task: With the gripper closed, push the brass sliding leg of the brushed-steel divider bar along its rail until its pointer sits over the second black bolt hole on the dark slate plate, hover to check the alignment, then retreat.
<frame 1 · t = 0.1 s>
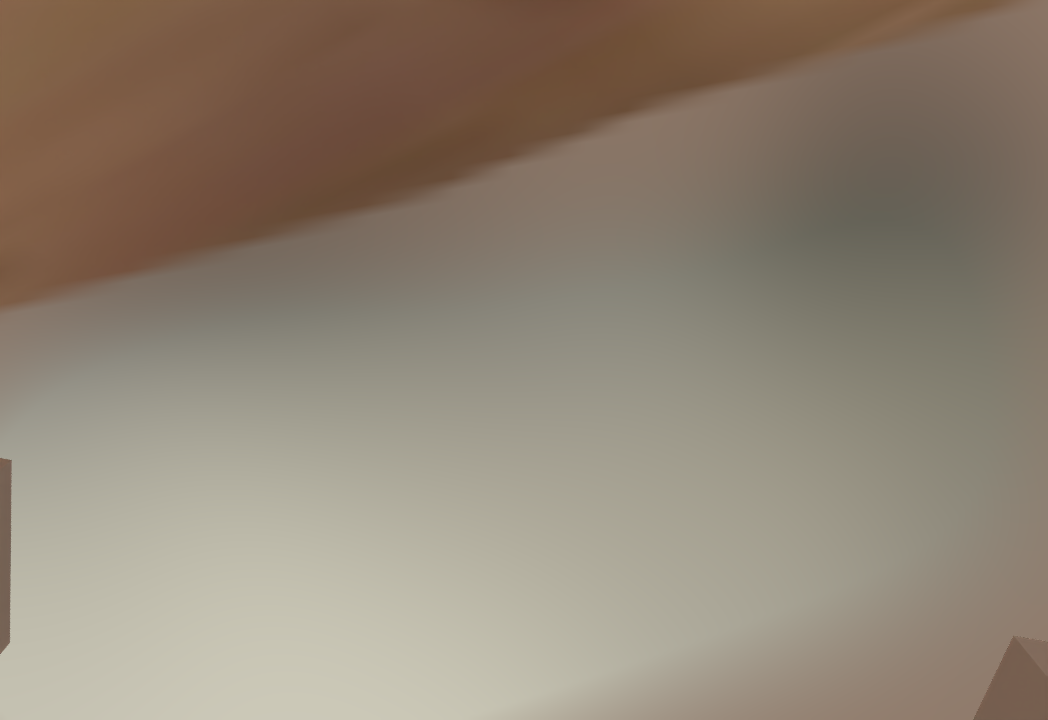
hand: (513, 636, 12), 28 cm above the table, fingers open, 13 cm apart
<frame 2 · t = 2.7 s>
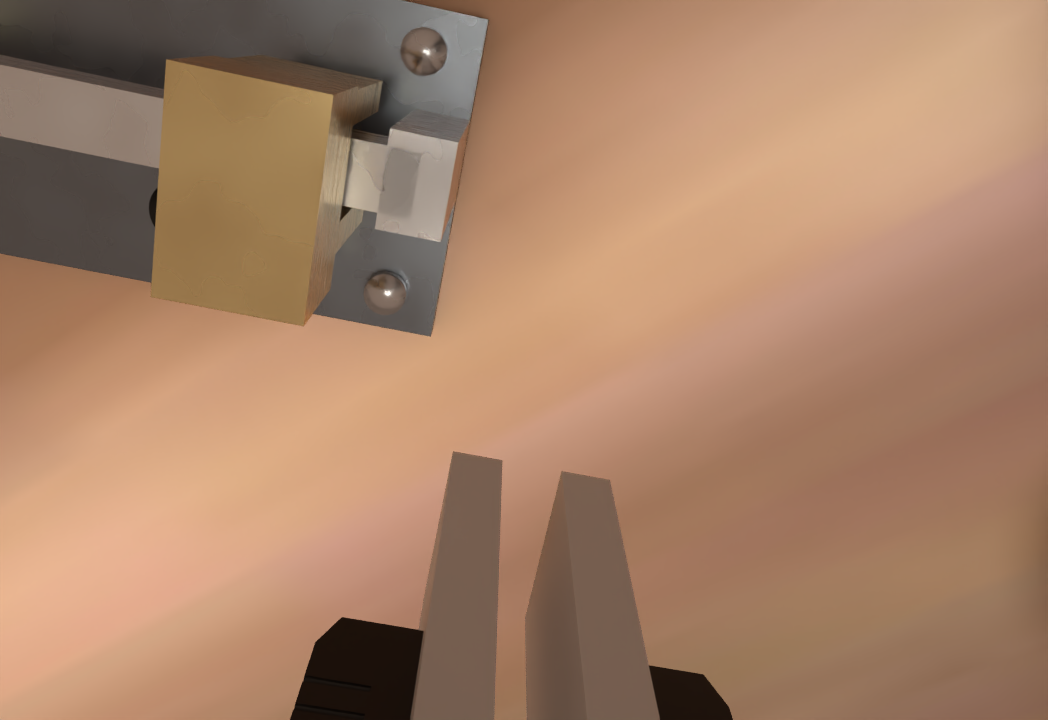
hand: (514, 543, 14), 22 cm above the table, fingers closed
hole plate: (61, 100, 33), on the table
sliding leg: (286, 190, 27), point 7 cm above the table, slide at 5.0 cm
dividers bar: (62, 73, 33), resting on hole plate
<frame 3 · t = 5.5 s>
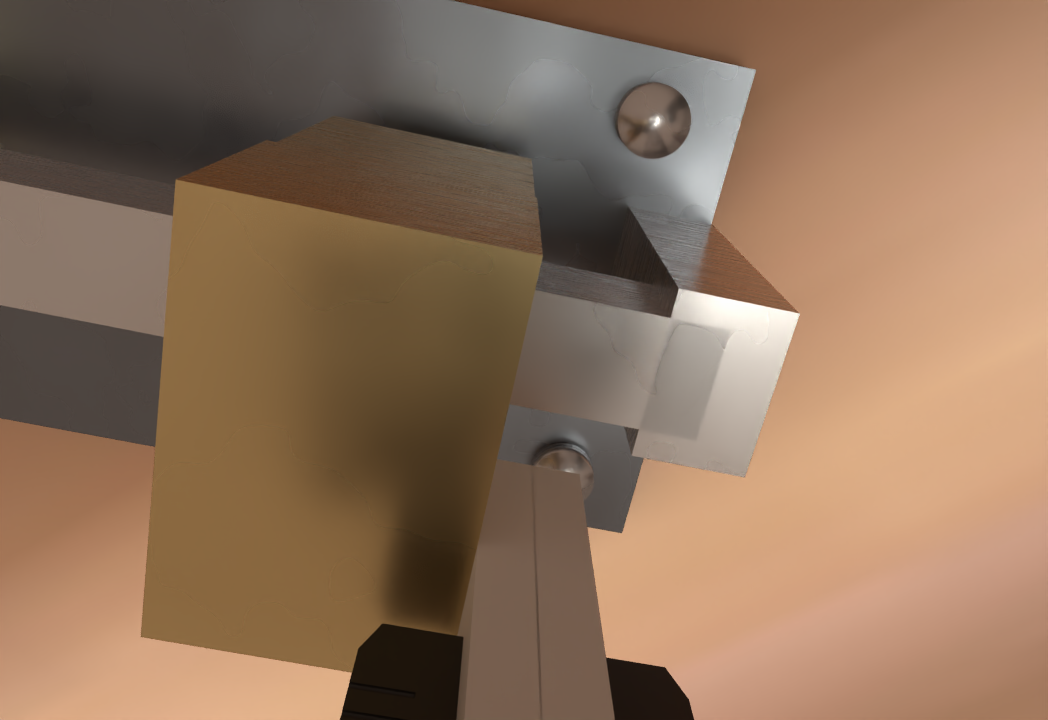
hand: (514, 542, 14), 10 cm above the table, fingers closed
hole plate: (75, 187, 21), on the table
sliding leg: (381, 359, 16), point 7 cm above the table, slide at 3.5 cm, touching gripper
dividers bar: (76, 146, 21), resting on hole plate
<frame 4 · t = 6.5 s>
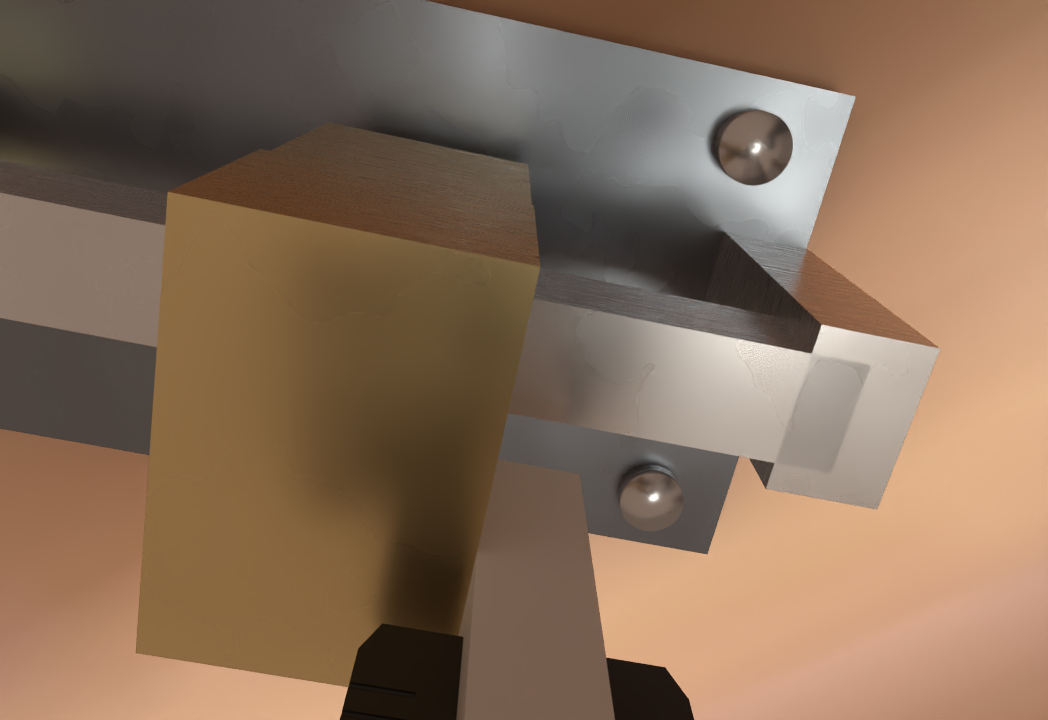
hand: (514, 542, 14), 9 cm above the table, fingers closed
hole plate: (169, 215, 21), on the table
sliding leg: (377, 367, 16), point 7 cm above the table, slide at 1.1 cm, touching gripper
dividers bar: (171, 174, 21), resting on hole plate
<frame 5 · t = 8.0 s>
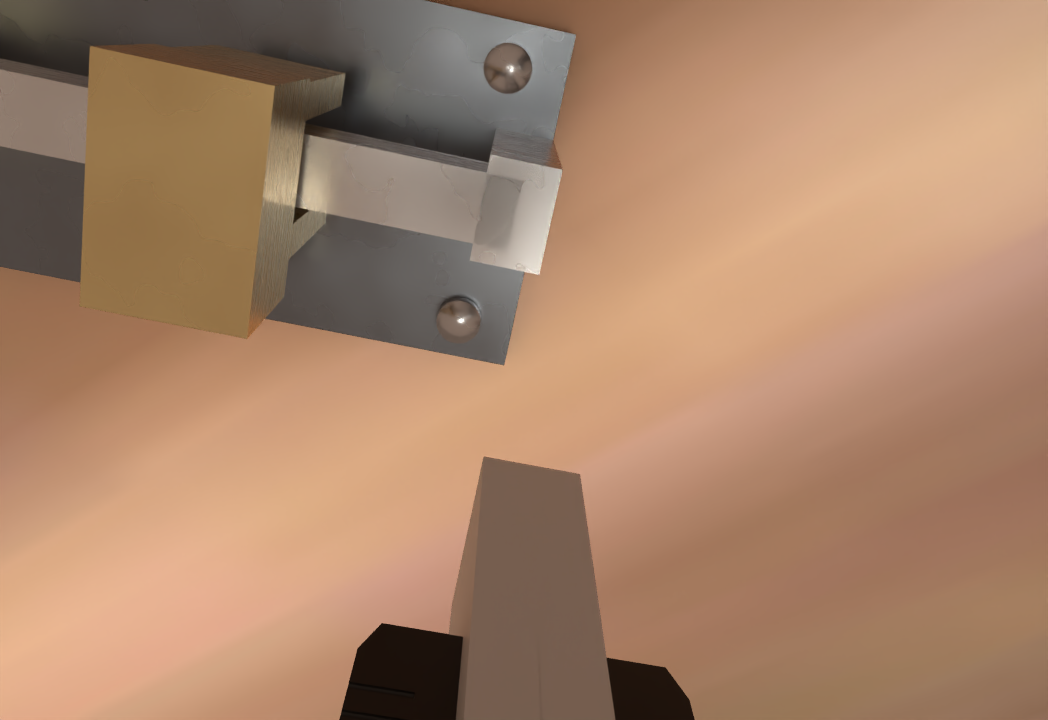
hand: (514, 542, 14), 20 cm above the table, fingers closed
hole plate: (121, 117, 31), on the table
sliding leg: (238, 190, 25), point 7 cm above the table, slide at 1.1 cm
dividers bar: (123, 89, 31), resting on hole plate
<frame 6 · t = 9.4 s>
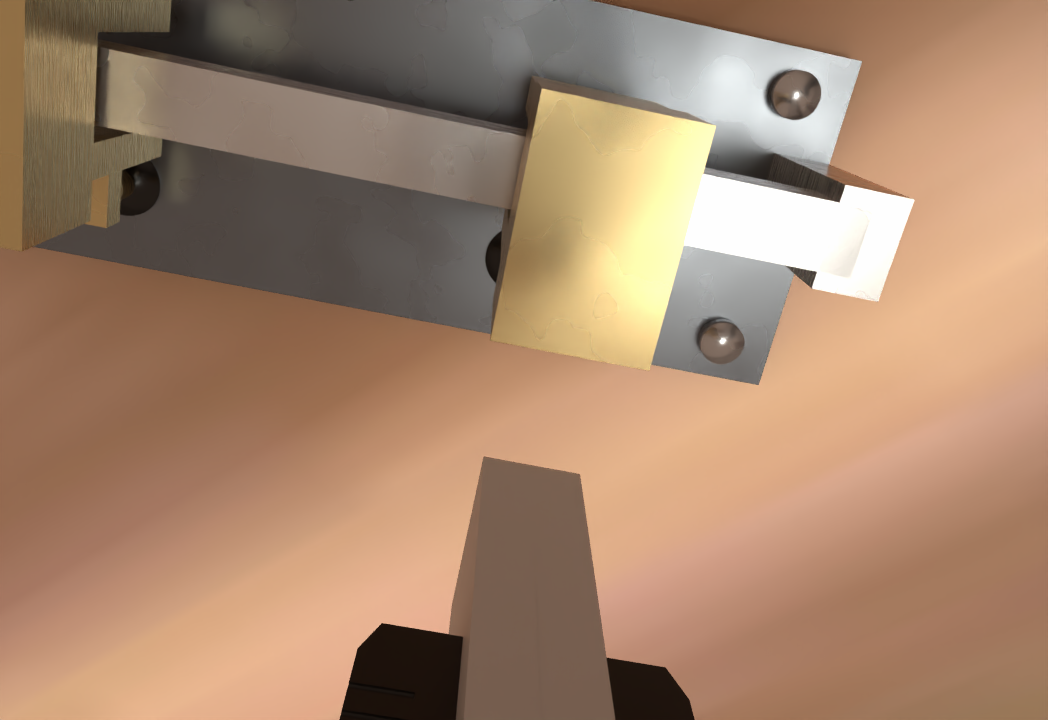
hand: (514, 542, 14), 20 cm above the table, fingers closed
hole plate: (397, 144, 32), on the table
sliding leg: (576, 220, 26), point 7 cm above the table, slide at 1.1 cm
dividers bar: (402, 116, 31), resting on hole plate
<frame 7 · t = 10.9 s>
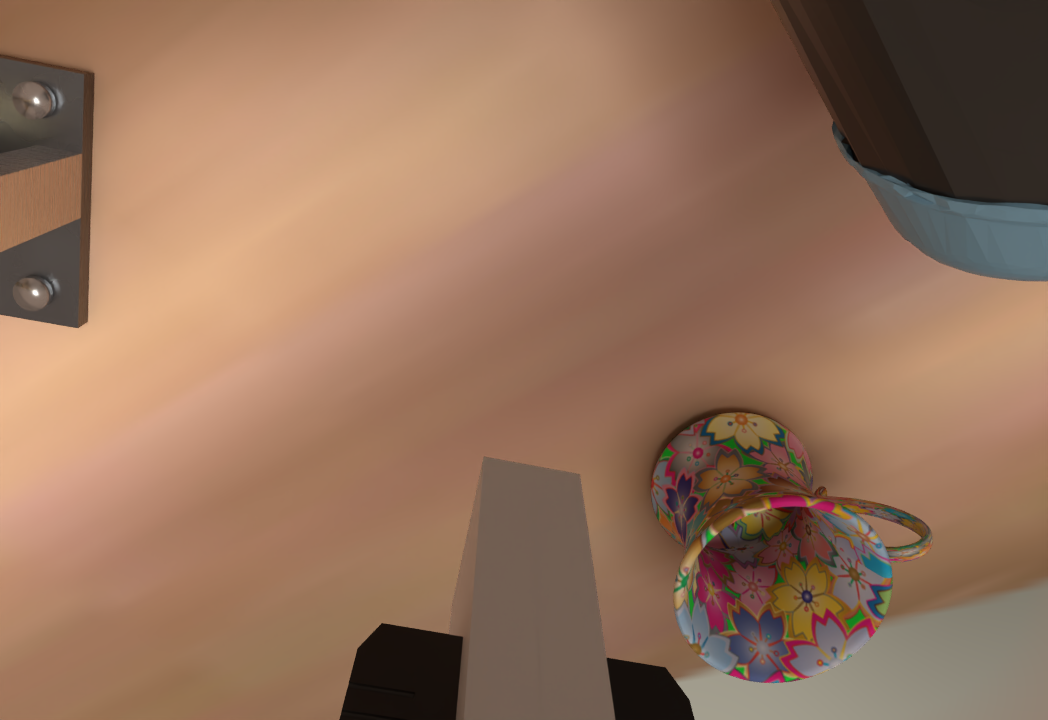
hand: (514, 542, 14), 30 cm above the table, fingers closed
mug: (751, 471, 48), on the table
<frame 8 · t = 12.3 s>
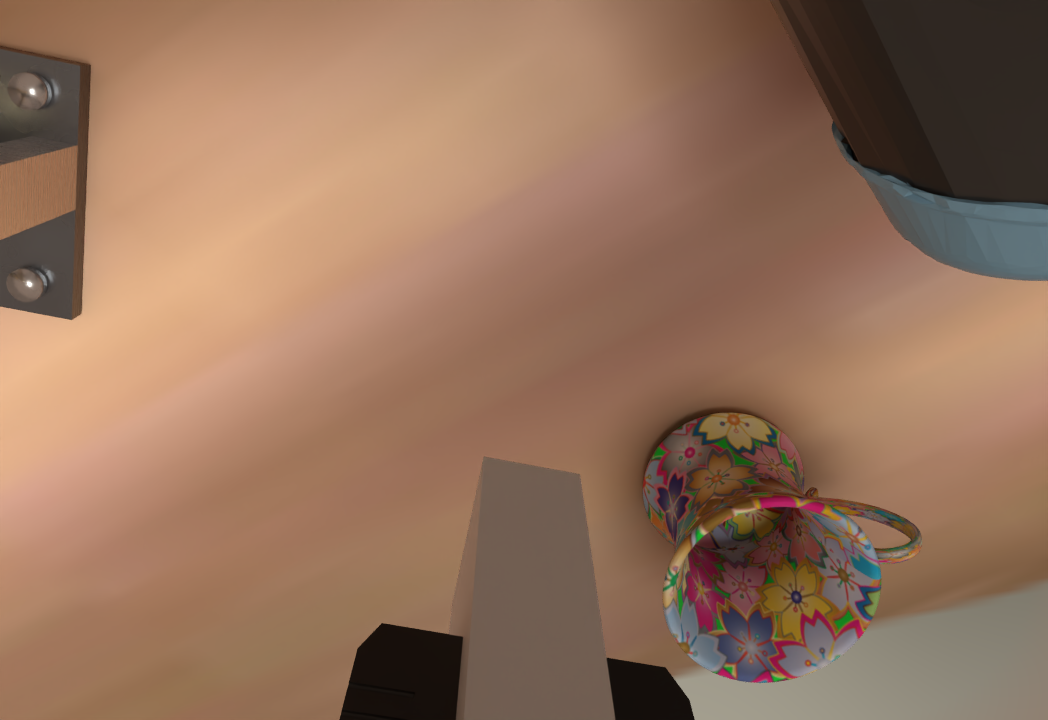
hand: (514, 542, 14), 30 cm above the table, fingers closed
mug: (743, 472, 48), on the table
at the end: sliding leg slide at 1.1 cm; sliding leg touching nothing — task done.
